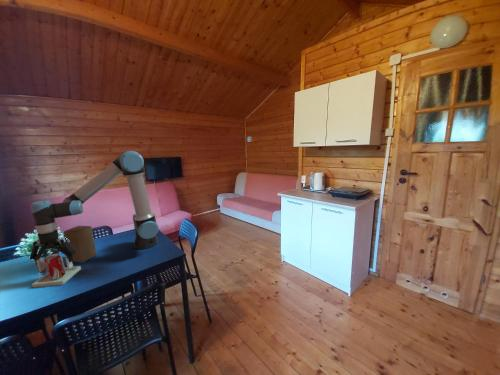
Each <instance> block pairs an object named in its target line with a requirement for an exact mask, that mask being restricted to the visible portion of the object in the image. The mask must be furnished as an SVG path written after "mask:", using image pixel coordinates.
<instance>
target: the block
mask: <svg viewBox="0 0 500 375" xmlns="http://www.w3.org/2000/svg"><path fill="white" fill-rule="evenodd" d="M63 235H64V236H63V237H64V238H65V237H66V238H68V239H69V240H70V243H69V244H70V246H71V247H72V248H73V249H74V250H75V252H76V253H75V254H74V255H72V257H73V261H72V263H85V262H87V261H89V260H90V259H92V258H93V257H95V256H97V255H98V254H97V248H96V243H95V239H94V233H93V228H92V226H91V225H76V226H74V227H71V228H69V229H66V230H64V231H63Z"/></svg>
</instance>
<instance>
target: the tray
mask: <svg viewBox="0 0 500 375" xmlns="http://www.w3.org/2000/svg"><path fill="white" fill-rule="evenodd" d="M65 270H66V273H65V275H64V276H62V277H61V278H58V279H55V280H52V279H49V277H48V274H47V273H45V274H44V275H42V276H41V277H40V278H39V279H37V280H36V281H35V282H33V283H31V286H32V287H31V288H32V289H36V288H44V287H55V286H63V285H65V284H66V283H68V281H70V280H71V279H72V278H73V277H74V276H75V275H76V274H77V273H79V272H80V271H81V270H82V267H81V265H77V266H75V265H74V266H72V267H71V268H70V269H68V267H66V266H65Z"/></svg>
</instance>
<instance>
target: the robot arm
mask: <svg viewBox="0 0 500 375" xmlns="http://www.w3.org/2000/svg"><path fill="white" fill-rule="evenodd" d="M144 164H145V161H144V157H143V156H142V155H141V154H140V153H139V152H137V151H134V150H125V151H123V152H121V153H120V154H119V155H118V156H117V158H115V159H114V160H113V161H111V164H110V165H109V166H108V167H106V168H105V169H104V170H102V171H101V172H100V173H99V174H97V175H96V176H94V177H93V178H91V179H90V180H89V181H88V182H86V183H85V184H84V185H81V187H80V188H78V189H77V190H75V191H74V192H73V193H72V194H70V195H68V196H67V197H65V198H64V199H63V200H62V202H57V203H52V202H51V200H49V199H48V200H38V201H33V203H31V204H30V210H31V216H32V220H33V223H34V227H35V232H36V233H37V237H38V238H37V240H35V241H33V242H32V249H31V253H30V255H29V260H34V261H35V265H36V266H37V268H38V271H39V272H41V273H42V271H44V270H46V268H45V264H44V258H43V257H42V255H43V254H44V252H45V251H46V250H49V249H51V250H52V249H54V250H57V251H59V253H61V254H63V255H64V256H65V262H66V266H67V267H68V269H70V268H71V267H74V264H73V262H72V261H73V257H72V255H74V254H75V253H76V252H75V250H74V249H73V248H72V247H71V246H70V244H69V243H68V242H67V240H66V238H65V237H63V238H59V232H58V229H57V227H58V226H57V223H56V219H57V218H58V219H60V218H65V217H71V216H77V215H81V214H83V213H84V207H83V204H84V203H86V202H87V201H88V200H89V199H91V198H92V197H94V196H96V194H97V193H98V192H100V191H101V190H102V189H104V188H105V187H106V186H108V185H109V184H110V183H112V182H113V181H115V179H117V178H118V177H120V176H121V175H122V176H123V177H125V178H126V180H127V184H128V188H129V192H130V195H131V200H132V203H133V208H134V212H135V213H134V214H133V215H132V220H133V228H134V233H135V237H134V241H133V245H134V246H133V247H134V248H135V249H137V250H145V249H150V248H152V246H153V247H155V246H156V245H158V244H159V240H158V239H159V238H158V236H157V234H158V233H159V230H160V229H159V228H160V227H159V224H158V223H157V220H156V216H155V215H156V214H155V213H153V212H152V208H151V205H150V200H149V197H148V196H149V195H148V192H147V187H146V183H145V178H144V174H145V173H146V172H145V166H144ZM154 245H155V246H154ZM40 246H41V247H40Z"/></svg>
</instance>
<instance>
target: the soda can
mask: <svg viewBox="0 0 500 375" xmlns="http://www.w3.org/2000/svg"><path fill="white" fill-rule="evenodd" d="M63 259H64V258H63V256H62V255H60V252H59V253H57V252H56V253H52V254H49V255H48V256H45V258H44V260H43V263H44V266H45V270H46V274H48V277H49V279H52V280H55V279H58V278H61V277H62V276H64V275H65V273H66V270H65V267H66V266H65V263H64V260H63Z"/></svg>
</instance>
